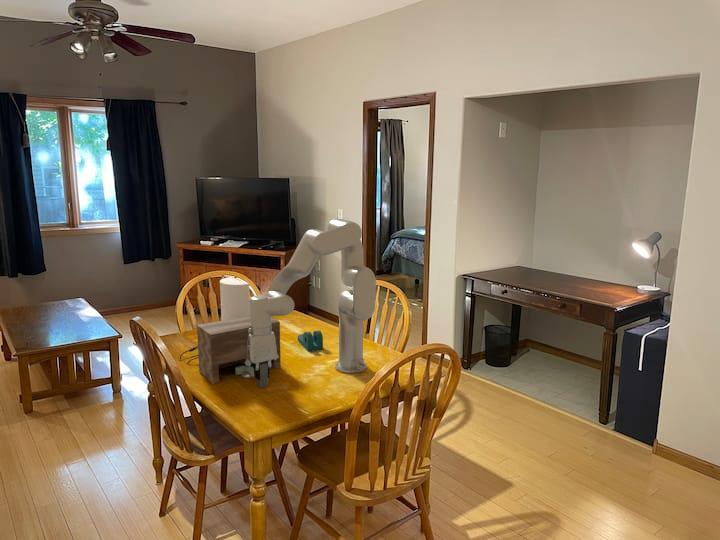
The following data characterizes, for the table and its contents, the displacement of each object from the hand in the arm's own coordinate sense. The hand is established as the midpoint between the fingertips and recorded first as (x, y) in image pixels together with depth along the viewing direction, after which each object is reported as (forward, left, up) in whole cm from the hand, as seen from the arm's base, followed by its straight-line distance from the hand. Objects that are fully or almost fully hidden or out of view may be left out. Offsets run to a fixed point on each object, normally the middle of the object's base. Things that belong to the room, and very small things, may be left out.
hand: (262, 377), depth 197 cm
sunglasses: (+41, +10, -4) cm, 42 cm away
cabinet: (+19, 0, -3) cm, 19 cm away
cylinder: (+51, -15, -4) cm, 53 cm away
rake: (+7, 0, -3) cm, 8 cm away
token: (+12, 0, -4) cm, 12 cm away
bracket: (+29, -37, -4) cm, 47 cm away
